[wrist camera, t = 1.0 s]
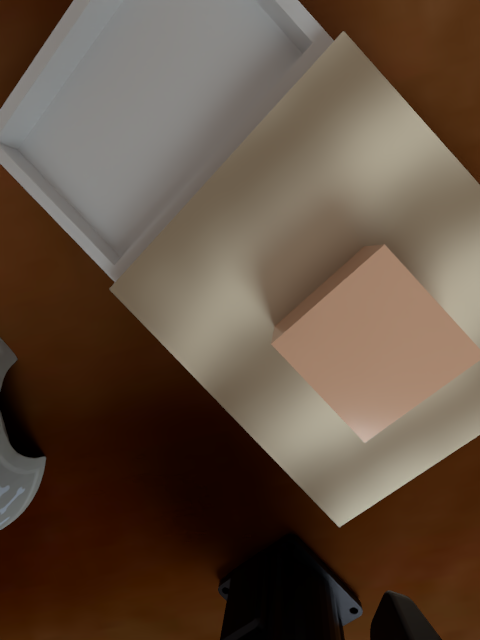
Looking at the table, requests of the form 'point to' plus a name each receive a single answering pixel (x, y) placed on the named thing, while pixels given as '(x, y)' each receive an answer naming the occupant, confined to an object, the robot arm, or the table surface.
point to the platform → (317, 273)
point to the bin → (146, 109)
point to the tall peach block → (373, 342)
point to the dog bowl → (15, 463)
